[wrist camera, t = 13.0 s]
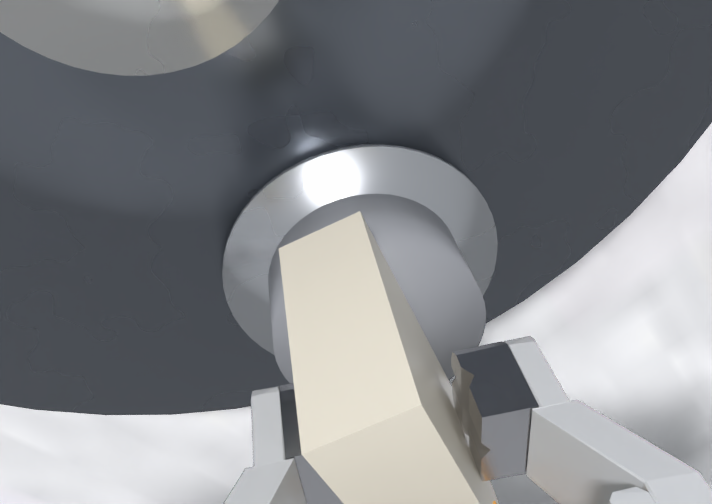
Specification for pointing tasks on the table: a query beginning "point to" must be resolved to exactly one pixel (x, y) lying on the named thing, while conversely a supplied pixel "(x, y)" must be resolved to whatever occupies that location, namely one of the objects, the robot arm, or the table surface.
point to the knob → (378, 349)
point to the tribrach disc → (302, 164)
